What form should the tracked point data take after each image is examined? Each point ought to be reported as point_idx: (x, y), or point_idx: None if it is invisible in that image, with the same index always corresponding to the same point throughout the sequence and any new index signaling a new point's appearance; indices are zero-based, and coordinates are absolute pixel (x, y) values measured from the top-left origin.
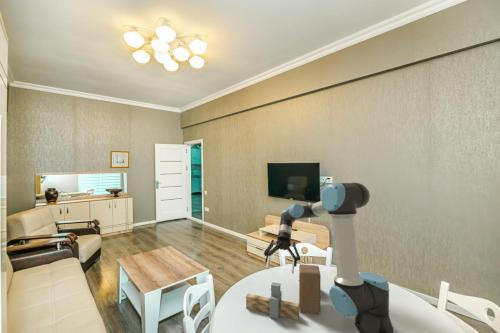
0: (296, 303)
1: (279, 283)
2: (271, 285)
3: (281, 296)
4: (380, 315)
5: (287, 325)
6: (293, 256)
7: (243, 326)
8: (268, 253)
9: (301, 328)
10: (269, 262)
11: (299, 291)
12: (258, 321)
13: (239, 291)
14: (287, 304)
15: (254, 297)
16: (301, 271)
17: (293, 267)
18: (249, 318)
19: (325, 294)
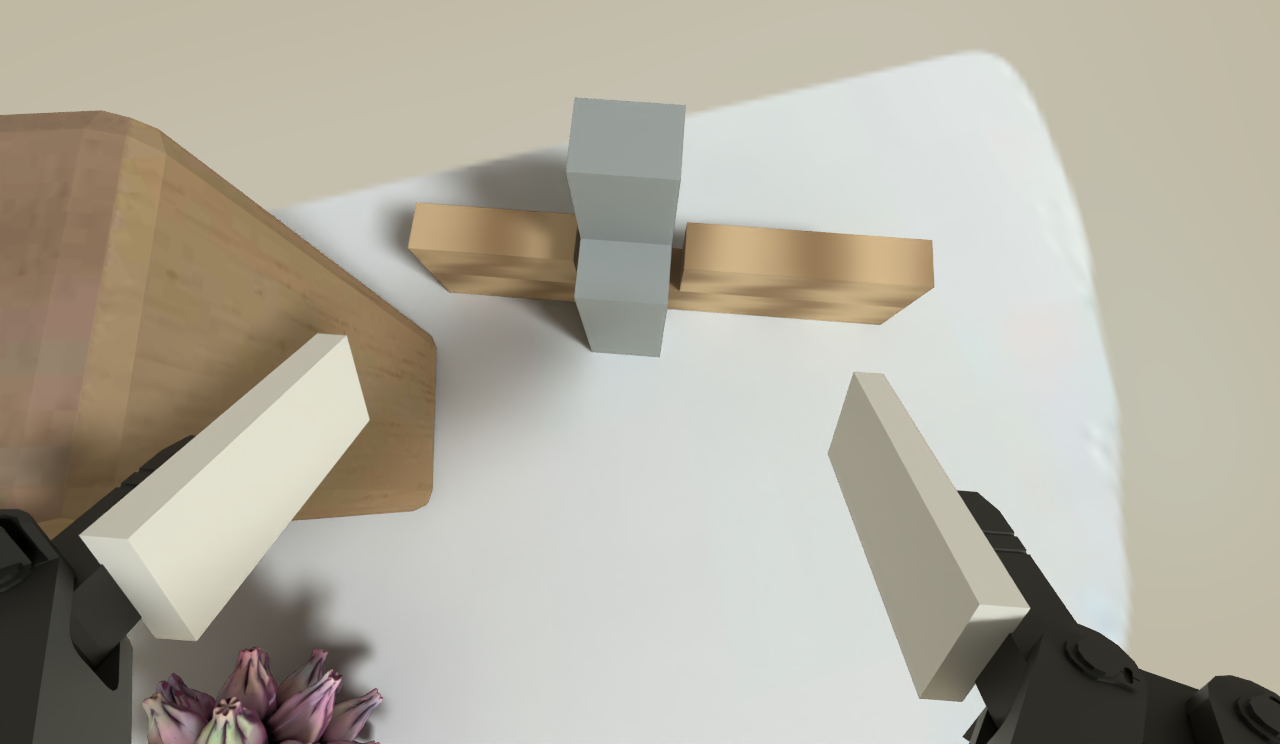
0: (430, 245)
1: (579, 169)
2: (680, 108)
3: (581, 315)
4: None
5: (532, 178)
6: (26, 631)
7: (823, 101)
8: (1093, 712)
9: (436, 173)
10: (874, 560)
11: (356, 289)
12: (739, 167)
13: (1045, 519)
14: (515, 211)
15: (844, 239)
16: (88, 124)
17: (267, 382)
18: (811, 180)
19: None
